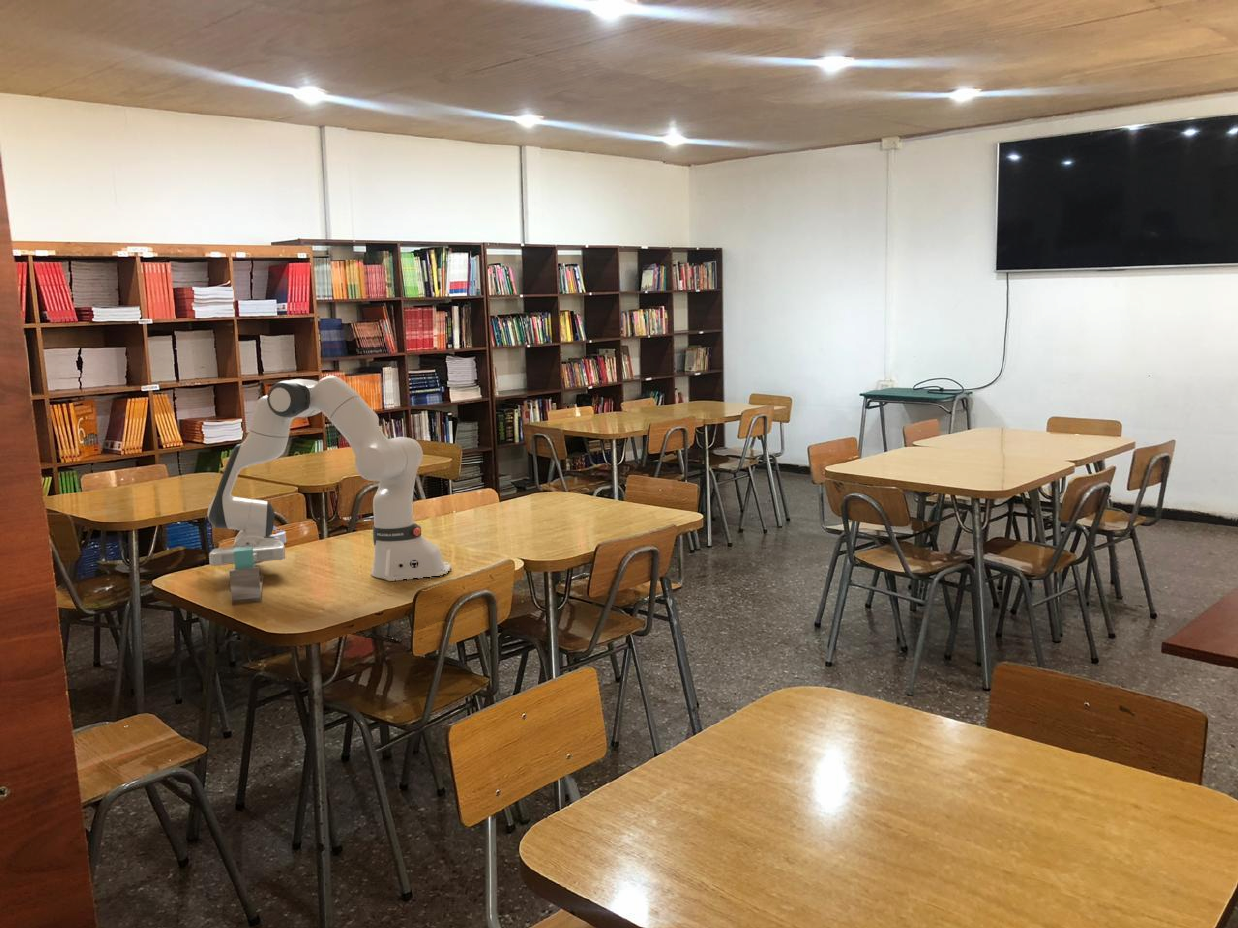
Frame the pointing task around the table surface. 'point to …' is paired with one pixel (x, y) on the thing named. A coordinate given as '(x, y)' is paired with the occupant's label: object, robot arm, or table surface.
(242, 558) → the block
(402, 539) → the robot arm
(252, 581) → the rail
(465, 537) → the table surface
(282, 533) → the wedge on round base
